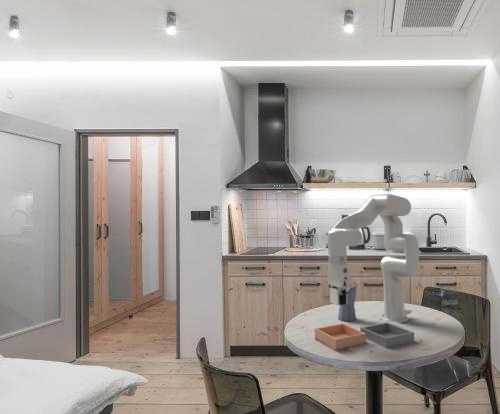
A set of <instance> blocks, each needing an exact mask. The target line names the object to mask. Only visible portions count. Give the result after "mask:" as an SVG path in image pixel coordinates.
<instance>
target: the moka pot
mask: <svg viewBox="0 0 500 414" xmlns="http://www.w3.org/2000/svg"><path fill="white" fill-rule="evenodd" d="M350 288H351V289H350V290H349V291H348V293H347V304H343V305H339V308H338V316H337V319H338V320H340V321H343V322H350V323H351V322H355V321H356V320H357V317H356V316H357V315H356V308H355V302H356V296H357V288H358V286H357V284H356V283H351V282H350Z"/></svg>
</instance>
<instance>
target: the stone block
mask: <svg viewBox="0 0 500 414" xmlns="http://www.w3.org/2000/svg"><path fill="white" fill-rule="evenodd" d="M343 290H344V289H342V291H343ZM339 295H340V291H339V288H338V287H337V288H329V302H330V303H331V304H333V305H335V306H340V304H339ZM346 302H347V295H346ZM346 304H347V303H346Z"/></svg>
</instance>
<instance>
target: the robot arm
mask: <svg viewBox="0 0 500 414" xmlns="http://www.w3.org/2000/svg"><path fill="white" fill-rule="evenodd" d="M411 211H412V204H411V202H410V200H409V199H408V198H406V197H403V196H399V195H396V194H389V193H387V194H385V193H384V194H373V195H370V196H369V197H368V198H366V200H365V201H364V202H363V203H362V205H361V206H360V207H359V208H358V209H357V210H356V212H354V213H351V214H349V215H348V216H345V217H344V218H342V219H340V220H339V221H338V222H337V223H336V224H334V226H333V227H332V229H331V230H329V231H328V233H327V248H328V250H327V251H328V252H327V253H328V257H327V258H328V264H327V265H328V266H327V281H326V284H327V285H328V287H329V288H328V289H330V288H337V287H338V288H339V291H340V295H339V304H340V305H343V304H346V303H347V302H346V295H347V293H348V291H349V290H350V289H351V288H350V283H351V273H350V268H349V263H348V261H347V259H348V256H347V255H348V254H347V252H348V251H347V249H348V248H347V247H357V246H359V245H360V244H361V243H362V241H363V234H362V232H361V231H360V230H358V229H362V228H366V227H369V226H371V225H372V224H373V223H374V221H375V219H377V217H378V216H379V217H380V218H381V221H383V225H384V233H383V234H384V235H383V238H384V242H383V244H384V249H385V250H386V251H387V252H388V253H393V254H403V255H404V256H401V255H391V254H390V255H385V256H384V257H382V258H381V260H380V269H381V273H382V283H383V314H381V315H380V319H381V320H382V321H386V322H387V321H388V322H394V323H399V324H404V323H407V322H409V317H408V316H407V315H411V314H412V313H413V312H412V310H411V309H407V310H406V309H405V308H406V307H405V283H404V281H403V279H402V277H405V278H414V277H416V276H417V275H418V273H419V266H420V265H419V261H420V259H419V258H420V255H419V254H420V245H419V240H418V239H417V237H416V236H415V235H414V234H410V233H406V234H405V233H404V231H403V228H404V227H403V226H404V225H403V222H402V219H401V218H400V217H405V216H408V215H409V214H410V213H411ZM342 289H344V290H343V291H342ZM340 305H339V306H340Z"/></svg>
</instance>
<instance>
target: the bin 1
mask: <svg viewBox="0 0 500 414" xmlns="http://www.w3.org/2000/svg"><path fill="white" fill-rule="evenodd" d="M314 340H315V341H318V342H319V343H321V344H323V345H324V346H326V347H327V348H330V349H332V350H333V351H334V352H338V351H339V352H340V351H343V350H347V349H350V347H352V346H357V345H361V344H367V339H366V333H363V332H361V331H360V330H359V329H356V328H355V327H353V326H350V325H349V324H348V325H347V324H346V323H343V322H342V323H337V324H332V325H328V326H327V325H326V326H322V327H315V328H314Z"/></svg>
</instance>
